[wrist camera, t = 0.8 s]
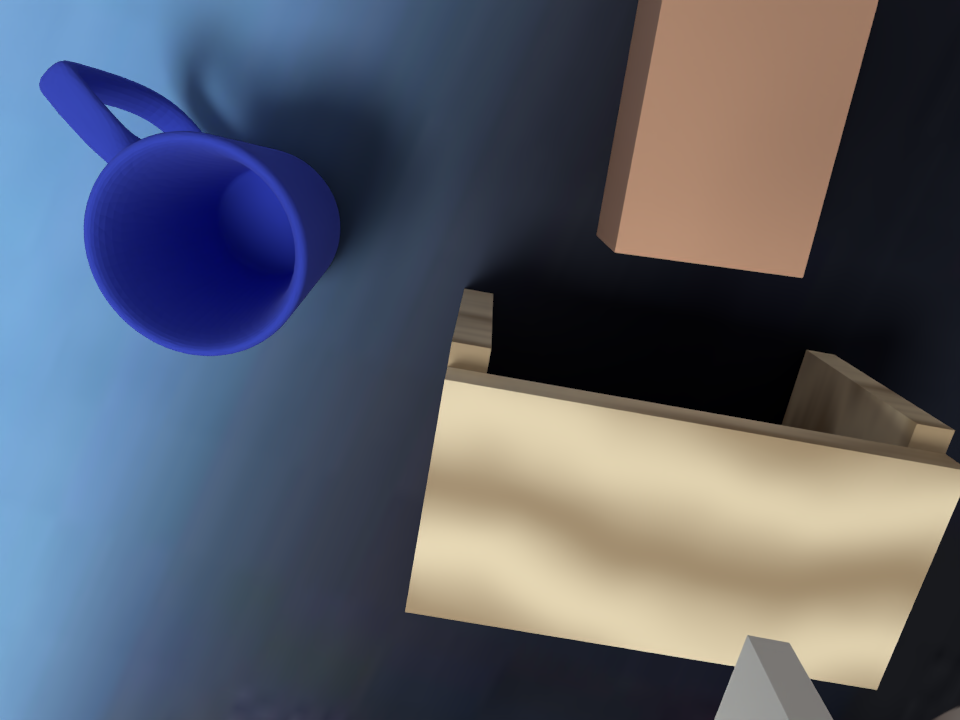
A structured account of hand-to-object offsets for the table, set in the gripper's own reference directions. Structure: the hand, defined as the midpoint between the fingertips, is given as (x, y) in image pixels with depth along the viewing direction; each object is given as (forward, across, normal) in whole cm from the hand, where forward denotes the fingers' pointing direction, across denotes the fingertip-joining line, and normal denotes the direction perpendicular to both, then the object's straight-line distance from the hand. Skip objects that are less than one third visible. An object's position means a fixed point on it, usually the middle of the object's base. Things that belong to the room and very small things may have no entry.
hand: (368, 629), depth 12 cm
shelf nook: (+25, +10, -4) cm, 27 cm away
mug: (+25, -11, +4) cm, 28 cm away
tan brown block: (+25, +10, +11) cm, 29 cm away
